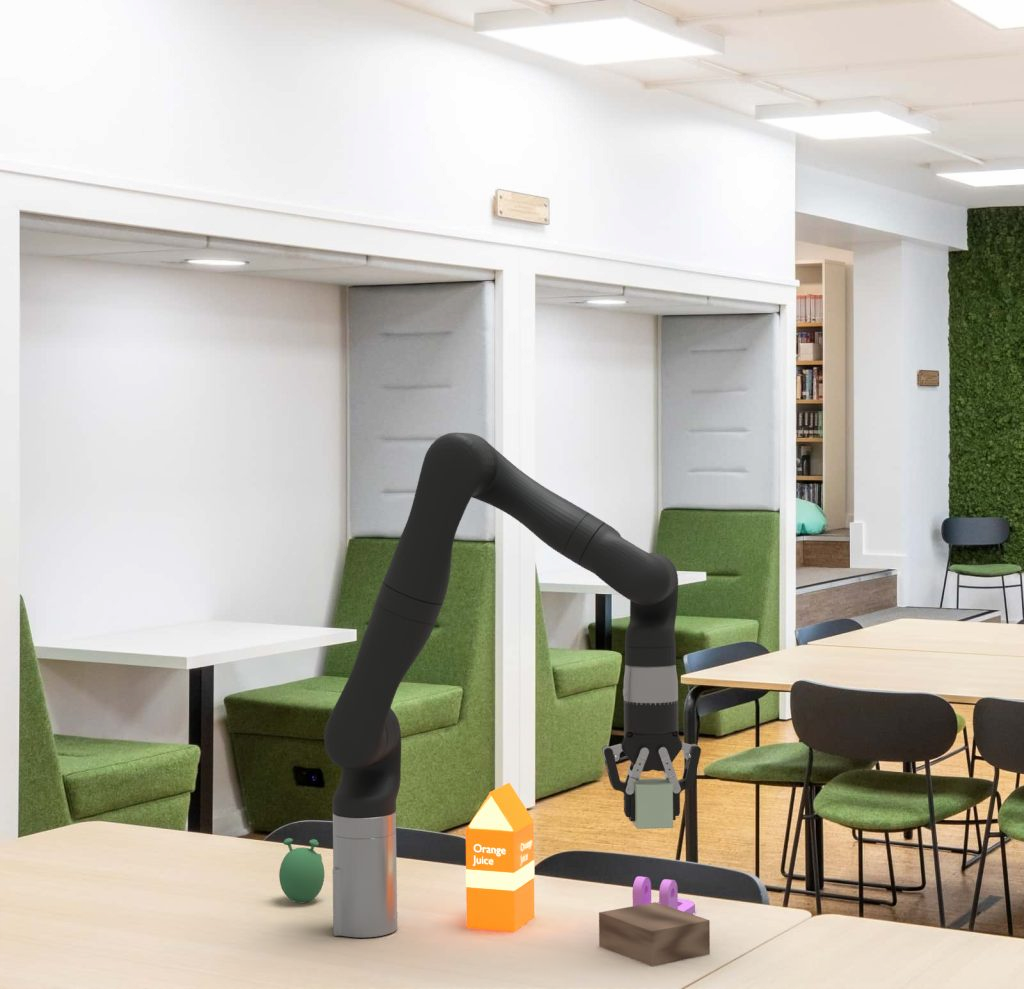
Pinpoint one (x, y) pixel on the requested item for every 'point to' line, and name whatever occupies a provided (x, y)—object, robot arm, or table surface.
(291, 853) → the alien toy
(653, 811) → the sage block
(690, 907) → the bracket
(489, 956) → the table surface
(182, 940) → the table surface
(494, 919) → the orange juice
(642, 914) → the plate
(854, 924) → the table surface
